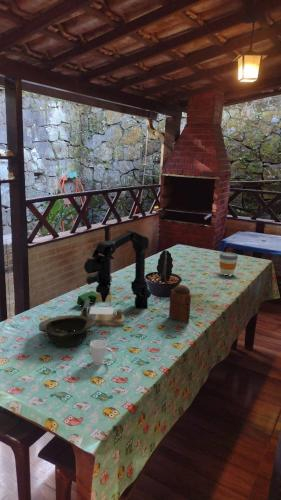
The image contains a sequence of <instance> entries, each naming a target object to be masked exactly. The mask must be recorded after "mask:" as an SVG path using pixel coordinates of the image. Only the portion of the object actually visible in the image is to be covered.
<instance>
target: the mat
mask: <svg viewBox="0 0 281 500" xmlns="http://www.w3.org/2000/svg"><path fill="white" fill-rule="evenodd" d="M114 310H115V309H114V307H106V306H103V307H101V306H91V307H90V309H89V314H114Z"/></svg>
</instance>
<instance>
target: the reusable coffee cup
mask: <svg viewBox="0 0 281 500" xmlns="http://www.w3.org/2000/svg"><path fill="white" fill-rule="evenodd" d="M237 260H238V253H235V252H230V251H222V252H220V253H219V263H218V264H219V270H220V272H219V273H222V274H227V275H230V274H233V275H234V274H235V270H236V266H237Z"/></svg>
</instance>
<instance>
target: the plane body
mask: <svg viewBox="0 0 281 500" xmlns="http://www.w3.org/2000/svg"><path fill="white" fill-rule="evenodd" d="M80 312H81V313H80V314H79V315H82V316H83V309H82V310H81V311H80ZM87 317H89V318H91V319H93V320H95V321H96V322H95V323H97V324H96V325H95V326H125V314H123V310H122V309H117V310H116V313H115V314H114V313H113V314H87Z"/></svg>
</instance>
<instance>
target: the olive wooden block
mask: <svg viewBox="0 0 281 500" xmlns="http://www.w3.org/2000/svg"><path fill="white" fill-rule="evenodd" d="M96 293H97V292H96ZM96 303H99V304H100V303H102V304H103V303H105V304H112V291H110V293H109V294H108V296H107V298H106V300H105V302H102V298H101V294H100V293H97V294H96Z"/></svg>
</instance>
